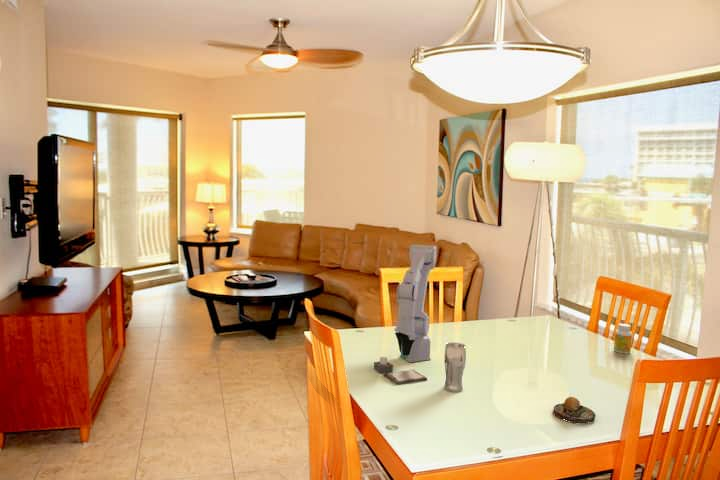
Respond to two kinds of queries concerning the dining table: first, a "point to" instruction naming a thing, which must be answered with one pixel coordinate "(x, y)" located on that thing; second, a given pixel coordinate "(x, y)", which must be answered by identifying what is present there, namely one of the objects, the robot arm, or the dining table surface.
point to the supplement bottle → (623, 339)
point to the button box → (383, 367)
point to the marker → (402, 354)
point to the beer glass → (454, 366)
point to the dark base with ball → (574, 411)
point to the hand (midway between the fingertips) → (404, 353)
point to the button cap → (383, 361)
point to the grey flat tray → (405, 377)
